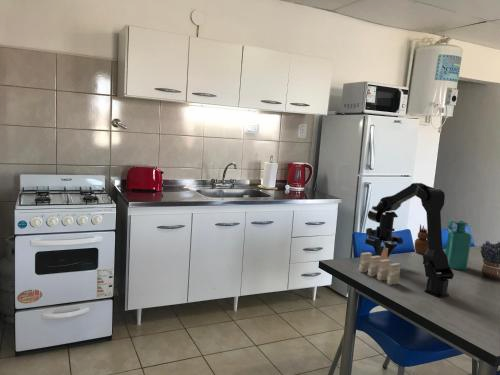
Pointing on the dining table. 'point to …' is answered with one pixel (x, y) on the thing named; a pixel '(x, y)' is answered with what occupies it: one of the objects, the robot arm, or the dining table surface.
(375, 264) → the domino
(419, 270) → the dining table surface
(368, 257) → the domino
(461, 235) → the teal tall bottle
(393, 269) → the domino
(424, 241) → the wooden figurine
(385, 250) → the domino
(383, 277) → the domino
